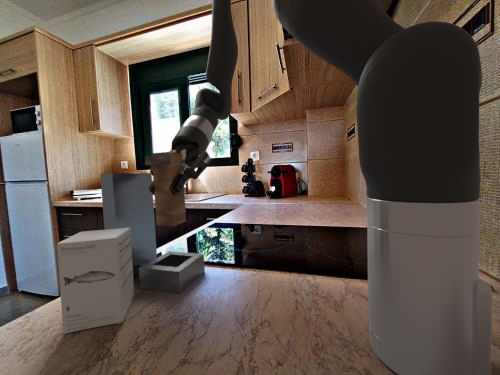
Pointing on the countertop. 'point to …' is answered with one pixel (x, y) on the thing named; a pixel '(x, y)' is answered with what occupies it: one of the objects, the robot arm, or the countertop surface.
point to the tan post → (167, 188)
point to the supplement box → (95, 278)
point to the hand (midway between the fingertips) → (163, 192)
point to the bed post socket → (145, 234)
